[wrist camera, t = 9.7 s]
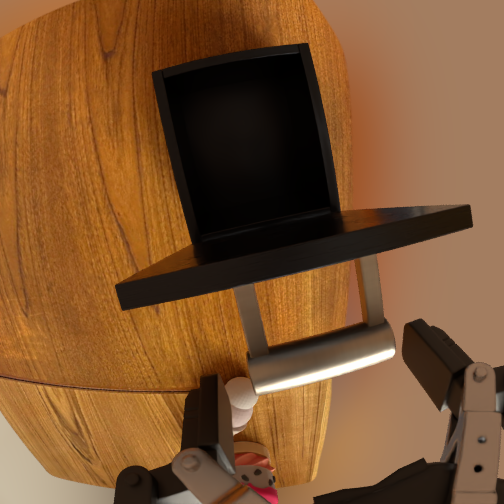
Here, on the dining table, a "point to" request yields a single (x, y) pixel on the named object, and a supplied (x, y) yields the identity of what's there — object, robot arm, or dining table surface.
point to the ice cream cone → (241, 401)
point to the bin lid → (292, 262)
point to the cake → (255, 469)
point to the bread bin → (247, 140)
